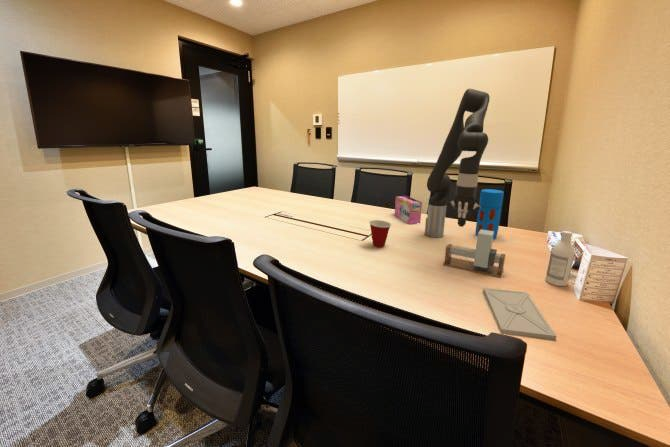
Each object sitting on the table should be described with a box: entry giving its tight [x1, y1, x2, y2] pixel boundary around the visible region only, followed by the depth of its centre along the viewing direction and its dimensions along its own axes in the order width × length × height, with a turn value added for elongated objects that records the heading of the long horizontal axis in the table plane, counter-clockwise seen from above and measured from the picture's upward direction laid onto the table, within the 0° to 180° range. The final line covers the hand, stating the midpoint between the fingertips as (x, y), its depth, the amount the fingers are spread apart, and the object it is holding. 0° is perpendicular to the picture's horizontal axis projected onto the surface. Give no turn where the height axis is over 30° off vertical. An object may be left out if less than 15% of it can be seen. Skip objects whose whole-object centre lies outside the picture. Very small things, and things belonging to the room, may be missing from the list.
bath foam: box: [545, 230, 575, 287], centre depth 115 cm, size 7×7×20 cm
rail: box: [442, 243, 506, 279], centre depth 129 cm, size 22×9×8 cm, turn 57°
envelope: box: [482, 287, 557, 341], centre depth 97 cm, size 24×2×14 cm
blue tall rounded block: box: [474, 188, 505, 240], centre depth 165 cm, size 11×11×25 cm
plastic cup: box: [368, 219, 392, 248], centre depth 154 cm, size 11×11×12 cm
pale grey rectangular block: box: [473, 229, 494, 268], centre depth 126 cm, size 5×6×14 cm
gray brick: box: [488, 248, 498, 266], centre depth 125 cm, size 2×5×5 cm, turn 147°
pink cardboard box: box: [394, 194, 423, 225], centre depth 201 cm, size 24×8×14 cm, turn 14°
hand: (461, 226), depth 129 cm, fingers closed
